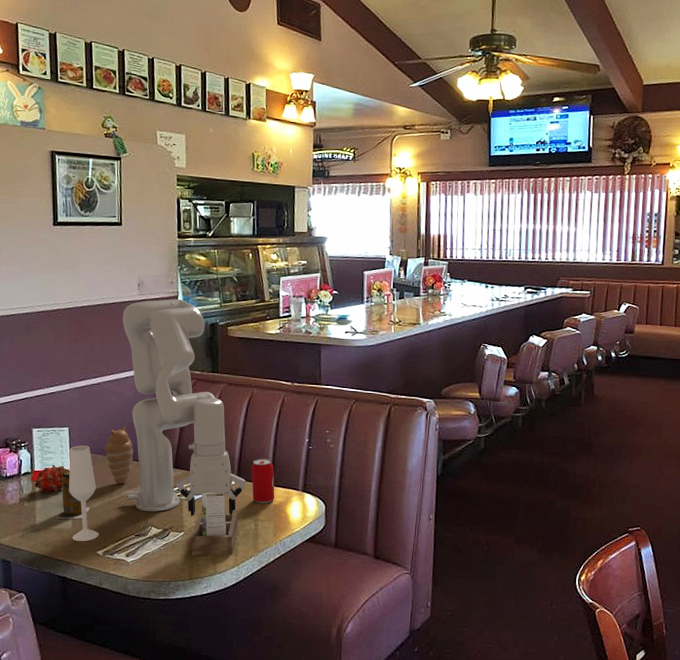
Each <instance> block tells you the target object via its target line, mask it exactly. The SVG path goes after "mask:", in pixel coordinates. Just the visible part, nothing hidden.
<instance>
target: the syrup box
mask: <svg viewBox="0 0 680 660" xmlns="http://www.w3.org/2000/svg"><path fill="white" fill-rule="evenodd" d="M210 492H214V491H210ZM210 492H202V495H201V510H202V511H201V512H202V513H201V514H202V522H203V536H223V535H226V514H225V513H226V494H216V493H210Z"/></svg>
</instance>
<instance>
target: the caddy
mask: <svg viewBox="0 0 680 660" xmlns="http://www.w3.org/2000/svg"><path fill="white" fill-rule="evenodd" d="M225 514H226V535H223V536H203V522H202V513H199V514H198V517H197V520H196V523H195V526H194V529H193V531H192V534H191V537H190V543H191V544H190V545H191V547H190V548H191V556H192V555H193V556H213V555H214V556H215V555H233V553H234V549H235V543H236V540H237V539H236V538H237V533H238V529H239V527H238V512H233V513H232V515H230V514H229V512H228V513H226V512H225ZM201 554H202V555H201Z"/></svg>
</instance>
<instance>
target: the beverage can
mask: <svg viewBox="0 0 680 660" xmlns="http://www.w3.org/2000/svg"><path fill="white" fill-rule="evenodd" d="M251 478H252V479H251V480H252V483H251V484H252V499H253V501H254V502H256V503H258V504H269V503H270V502H272V501H273V500H274V499H275V487H274V486H275V480H274V465H273V463H272V460H270V459H267V458H258V459H256V460H255V459H254V460H253V464H252V465H251Z"/></svg>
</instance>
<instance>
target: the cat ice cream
mask: <svg viewBox="0 0 680 660" xmlns="http://www.w3.org/2000/svg"><path fill="white" fill-rule="evenodd" d="M129 437H130V436H129V435H128V433H127V432H126V426H123V427H121V428H120V429H117V430H114V429H111V430H110V435H109V437H108V440H107V442H106V444H105V446H104V451H105V452H106V456H105V457H106V460H107V461H108V468H109V469H110V472H111V475H112V476H113V479H114V481H115V483H116V484H120V485H123V484H126V483H127V481H128V480H129V474H130V472H131V468H132V463H133V455H134V449H133V443H132V440H131V439H130V438H129Z"/></svg>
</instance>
